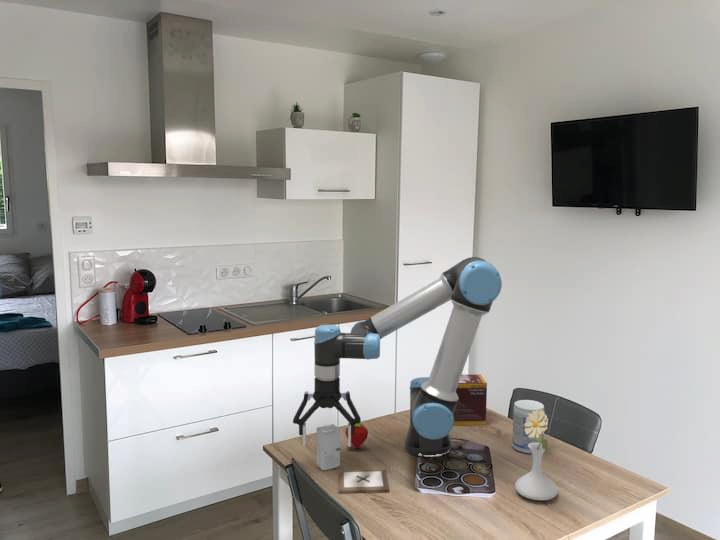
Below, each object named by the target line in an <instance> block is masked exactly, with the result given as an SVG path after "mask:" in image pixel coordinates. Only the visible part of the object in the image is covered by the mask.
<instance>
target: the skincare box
mask: <svg viewBox="0 0 720 540" xmlns="http://www.w3.org/2000/svg"><path fill="white" fill-rule="evenodd" d="M340 431H341V428H340V427H339V426H337V425H336V424H334V423H331V424H328V425H327V424H326V425H322V426H319V427H316V466H317V467H318V468H319V467H320V468H321V470H322V471H323V470H324V471H326V470H327V471H328V470H331V469H334V468H339V467H340V466H341V440H340V439H341V432H340ZM320 468H319V469H320Z"/></svg>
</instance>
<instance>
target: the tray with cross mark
mask: <svg viewBox="0 0 720 540" xmlns="http://www.w3.org/2000/svg"><path fill="white" fill-rule="evenodd" d="M368 493H369V494H370V493H371V494H372V493H376V494H377V493H390V486H389V480H388V474H387V470H386V469H354V470H353V469H351V470H338V494H368Z"/></svg>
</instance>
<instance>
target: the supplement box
mask: <svg viewBox="0 0 720 540" xmlns="http://www.w3.org/2000/svg"><path fill="white" fill-rule="evenodd" d="M487 387H488V382H487V381H486V379H485V378H484V377H483V376H482V374H481V373H479V374H462V375H461V377H460V380H459V383H458V386H457V389H456V393H457V395H458V397H459V399H458V402H457V405H456V408H455V411H454V414H453V417H454V424H453V426H486V425H487V395H488V394H487V393H488V392H487V390H488V388H487Z"/></svg>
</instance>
